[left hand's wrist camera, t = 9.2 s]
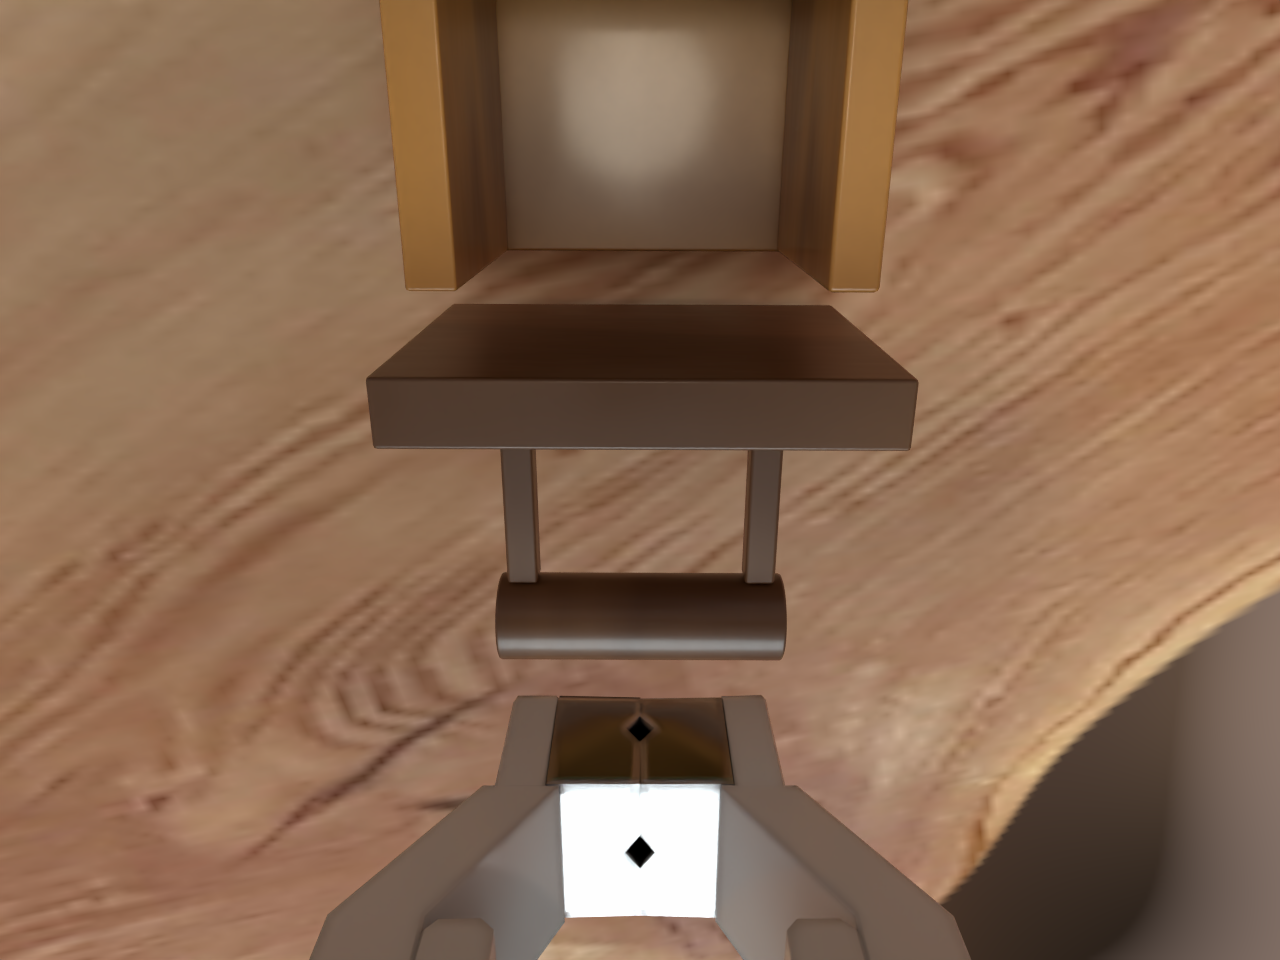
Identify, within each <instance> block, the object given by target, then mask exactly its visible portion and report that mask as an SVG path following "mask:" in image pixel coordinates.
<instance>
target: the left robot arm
mask: <svg viewBox="0 0 1280 960" xmlns="http://www.w3.org/2000/svg"><path fill="white" fill-rule="evenodd" d="M633 915H645V916H680V917H715V918H716V923H717V924H718V925H719V927H720V928H721V929H722V931H723V932H724V934H725V935H726V936H727V938H728V939H729V940H730V942H731V943H732V945H733V946H734V947H735V949H736V950H737V952H738V953H739V954H740V956H741V957H742V958H743V960H971V959H970V956H969V954H968V951H967V949H966V946H965V944H964V941H963V939H962V936H961V934H960V931H959V929H958V926H957V924H956V921H955V919H954V916H953V915H952V914H950V913H949V912H948V911H947V910H945V909H944V908H943V907H942V906H941V905H940V904H938V903H937V902H936V901H935V900H934V899H932V898H931V897H930V896H929V895H928V894H926V893H925V892H924V891H923V890H922V889H920V888H919V887H918V886H917V885H916V884H914V883H913V882H912V881H911V880H910V879H908V878H907V877H906V876H905V875H904V874H902V873H901V872H900V871H899V870H898V869H896V868H895V867H894V866H893V865H892V864H890V863H889V862H888V861H887V860H886V859H884V858H883V857H882V856H881V855H880V854H878V853H877V852H876V851H875V850H874V849H872V848H871V847H870V846H869V845H868V844H866V843H865V842H864V841H863V840H862V839H861V838H859V837H858V836H857V835H856V834H855V833H853V832H852V831H851V830H850V829H849V828H847V827H846V826H845V825H844V824H843V823H841V822H840V821H839V820H838V819H837V818H835V817H834V816H833V815H832V814H831V813H829V812H828V811H827V810H826V809H825V808H823V807H822V806H821V805H820V804H819V803H817V802H816V801H815V800H814V799H813V798H811V797H810V796H809V795H808V794H807V793H805V792H804V791H803V790H802V789H801V788H799V787H798V786H785V783H784V779H783V774H782V770H781V766H780V761H779V757H778V752H777V748H776V743H775V739H774V735H773V730H772V726H771V721H770V717H769V713H768V708H767V704H766V700H765V698H764V697H763V696H762V695H752V696H722V697H721V698H642V699H640V698H636V697H589V696H560V697H559V698H558V697H557V696H518V697H517V698H516V700H515V701H514V703H513V707H512V712H511V716H510V721H509V725H508V730H507V734H506V738H505V743H504V747H503V752H502V756H501V761H500V765H499V770H498V774H497V779H496V783H495V786H482V787H481V788H479V789H478V790H477V791H476V792H475V793H473V794H472V795H471V796H470V797H469V798H467V799H466V800H465V801H464V802H463V803H461V804H460V805H459V806H458V807H457V808H455V809H454V810H453V811H452V812H451V813H449V814H448V815H447V816H446V817H445V818H443V819H442V820H441V821H440V822H439V823H437V824H436V825H435V826H434V827H432V828H431V829H430V830H429V831H428V832H426V833H425V834H424V835H423V836H422V837H420V838H419V839H418V840H417V841H416V842H414V843H413V844H412V845H411V846H410V847H408V848H407V849H406V850H405V851H404V852H402V853H401V854H400V855H399V856H398V857H396V858H395V859H394V860H393V861H392V862H390V863H389V864H388V865H387V866H386V867H384V868H383V869H382V870H381V871H380V872H378V873H377V874H376V875H375V876H374V877H372V878H371V879H370V880H369V881H368V882H366V883H365V884H364V885H363V886H361V887H360V888H359V889H358V890H357V891H355V892H354V893H353V894H352V895H351V896H349V897H348V898H347V899H346V900H345V901H343V902H342V903H341V904H340V905H339V906H337V907H336V908H335V909H334V910H333V911H331V912H330V913H329V914H328V915H327V917H326V920H325V922H324V925H323V927H322V930H321V932H320V935H319V937H318V939H317V942H316V944H315V947H314V949H313V952H312V954H311V957H310V959H309V960H537V959H538V958H539V957H540V955H541V954H542V952H543V951H544V950H545V948H546V947H547V946H548V944H549V943H550V941H551V940H552V939H553V937H554V936H555V935H556V933H557V932H558V930H559V929H560V928H561V926H562V925H563V924H564V922H565V921H564V918H565V917H599V916H633Z"/></svg>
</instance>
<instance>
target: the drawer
mask: <svg viewBox="0 0 1280 960" xmlns="http://www.w3.org/2000/svg"><path fill="white" fill-rule="evenodd" d="M379 3H380V14H381V25H382V36H383V47H384V57H385V68H386V79H387V90H388V101H389V112H390V123H391V134H392V145H393V156H394V167H395V178H396V188H397V199H398V210H399V221H400V232H401V243H402V254H403V265H404V276H405V287H406V289H407V290H409V291H455V290H457V289H458V288H460V287H461V286H462V285H464V284H465V283H466V282H467V281H469V280H470V279H471V278H472V277H474V276H475V275H476V274H477V273H479V272H480V271H481V270H483V269H484V268H485V267H486V266H488V265H489V264H490V263H491V262H493V261H494V260H495V259H497V258H498V257H499V256H500V255H502V254H503V253H504V252H505V251H507V250H556V251H779V252H780V253H782V254H783V255H784V256H786V257H787V258H788V259H789V260H791V261H792V262H793V263H794V264H796V265H797V266H798V267H799V268H801V269H802V270H803V271H805V272H806V273H807V274H808V275H810V276H811V277H812V278H813V279H815V280H816V281H817V282H819V283H820V284H821V285H822V286H824V287H825V288H826V289H827V290H829V291H831V292H876V291H878V289H879V287H880V277H881V267H882V257H883V248H884V238H885V228H886V218H887V208H888V198H889V188H890V178H891V168H892V158H893V148H894V138H895V128H896V118H897V108H898V99H899V89H900V79H901V69H902V59H903V49H904V39H905V29H906V19H907V9H908V0H379ZM918 384H919V383H918V380H917V379H916V378H915V377H913V376H912V375H911V374H910V373H909V372H908V371H907V370H905V369H904V368H903V367H902V366H901V365H900V364H898V363H897V362H896V361H895V360H894V359H893V358H891V357H890V356H889V355H888V354H887V353H886V352H884V351H883V350H882V349H881V348H880V347H879V346H877V345H876V344H875V343H874V342H873V341H872V340H870V339H869V338H868V337H867V336H866V335H865V334H863V333H862V332H861V331H860V330H859V329H858V328H856V327H855V326H854V325H853V324H852V323H851V322H849V321H848V320H847V319H846V318H845V317H844V316H842V315H841V314H840V313H839V312H838V311H837V310H836V309H834V308H833V307H832V306H822V305H573V304H454V305H452V306H451V307H450V308H448V309H447V310H446V311H445V312H444V313H443V314H441V315H440V316H439V317H438V318H437V319H435V320H434V321H433V322H432V323H431V324H430V325H428V326H427V327H426V328H425V329H424V330H423V331H421V332H420V333H419V334H418V335H417V336H415V337H414V338H413V339H412V340H411V341H410V342H408V343H407V344H406V345H405V346H404V347H403V348H401V349H400V350H399V351H398V352H397V353H395V354H394V355H393V356H392V357H391V358H390V359H388V360H387V361H386V362H385V363H384V364H383V365H381V366H380V367H379V368H378V369H377V370H376V371H374V372H373V373H372V374H371V375H370V376H368V377H367V379H366V386H367V395H368V403H369V412H370V421H371V430H372V439H373V446H374V448H377V449H500V451H501V469H502V486H503V504H504V521H505V539H506V557H507V572H505V573H503V574H502V575H501V578H500V581H499V585H498V590H497V599H496V614H495V632H496V645H497V650H498V654H499V657H500V658H501V659H592V660H781V659H782V657H783V654H784V651H785V645H786V632H787V612H786V598H785V590H784V584H783V581H782V578H781V576H780V575H779V574H777V573H775V565H776V550H777V535H778V520H779V505H780V489H781V474H782V459H783V450H828V451H908V450H910V448H911V441H912V433H913V425H914V417H915V408H916V400H917V392H918ZM536 449H589V450H748V459H747V479H746V499H745V519H744V538H743V558H742V572H743V573H558V572H540V569H541V567H540V543H539V519H538V495H537V471H536Z"/></svg>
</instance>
